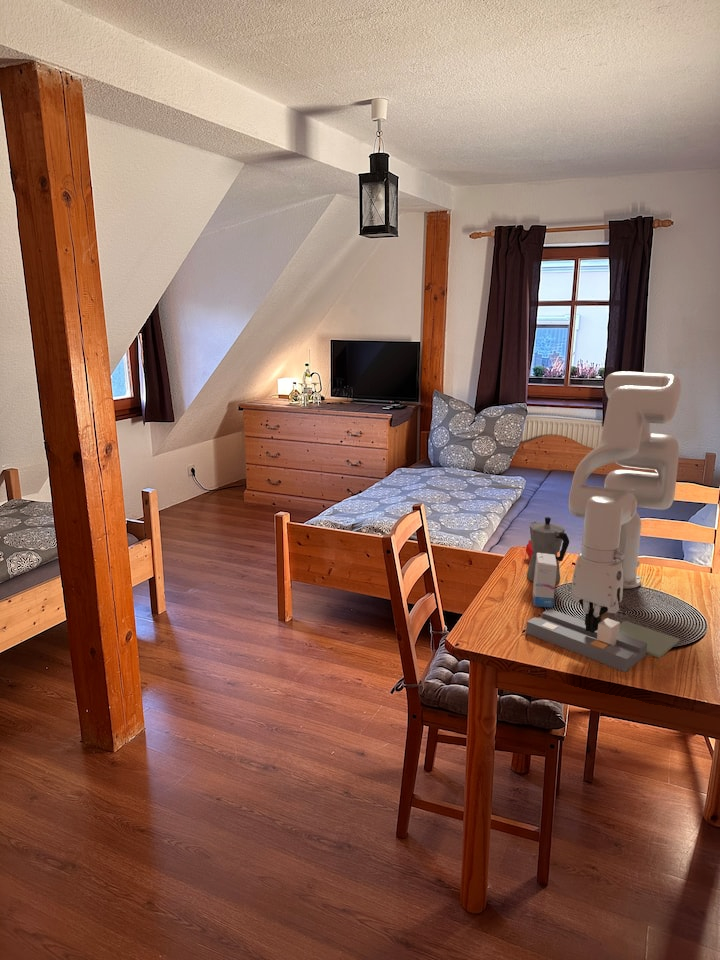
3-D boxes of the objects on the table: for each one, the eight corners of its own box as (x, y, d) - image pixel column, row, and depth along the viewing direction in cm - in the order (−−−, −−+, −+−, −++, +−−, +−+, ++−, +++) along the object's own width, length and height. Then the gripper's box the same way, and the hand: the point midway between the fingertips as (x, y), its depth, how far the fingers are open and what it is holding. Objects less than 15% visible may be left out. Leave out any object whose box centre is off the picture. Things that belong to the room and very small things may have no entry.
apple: (558, 545, 200) (538, 530, 205) (543, 554, 197) (523, 538, 202) (553, 562, 205) (533, 546, 210) (537, 570, 201) (518, 554, 206)
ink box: (554, 608, 171) (557, 564, 168) (533, 606, 172) (537, 563, 169) (551, 595, 179) (555, 553, 176) (532, 593, 180) (535, 551, 177)
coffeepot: (515, 572, 194) (519, 512, 189) (541, 567, 198) (546, 509, 193) (550, 592, 180) (555, 528, 176) (577, 587, 184) (583, 524, 179)
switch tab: (604, 638, 151) (606, 617, 150) (617, 643, 149) (619, 622, 147) (596, 644, 148) (598, 623, 147) (609, 649, 146) (611, 628, 145)
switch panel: (548, 619, 164) (549, 608, 164) (645, 655, 148) (647, 642, 147) (525, 633, 158) (526, 621, 157) (625, 672, 141) (626, 658, 140)
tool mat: (624, 622, 163) (624, 620, 163) (679, 641, 154) (679, 639, 154) (602, 637, 156) (603, 635, 155) (659, 658, 146) (659, 655, 146)
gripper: (641, 557, 143) (632, 636, 148) (577, 540, 154) (570, 614, 158) (624, 566, 138) (616, 647, 143) (559, 548, 149) (553, 624, 153)
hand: (592, 629), depth 150 cm, fingers closed
